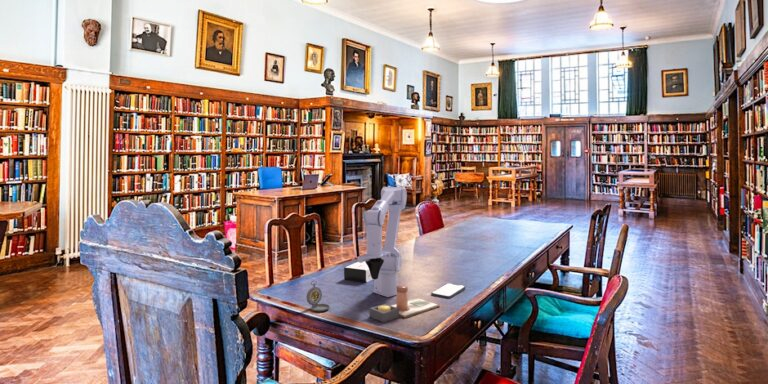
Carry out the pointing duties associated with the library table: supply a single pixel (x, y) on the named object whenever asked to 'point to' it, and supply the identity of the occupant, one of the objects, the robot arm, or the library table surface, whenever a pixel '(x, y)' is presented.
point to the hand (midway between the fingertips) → (374, 278)
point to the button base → (384, 313)
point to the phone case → (448, 290)
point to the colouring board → (416, 307)
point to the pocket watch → (316, 299)
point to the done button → (384, 308)
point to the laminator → (357, 272)
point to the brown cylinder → (402, 297)
